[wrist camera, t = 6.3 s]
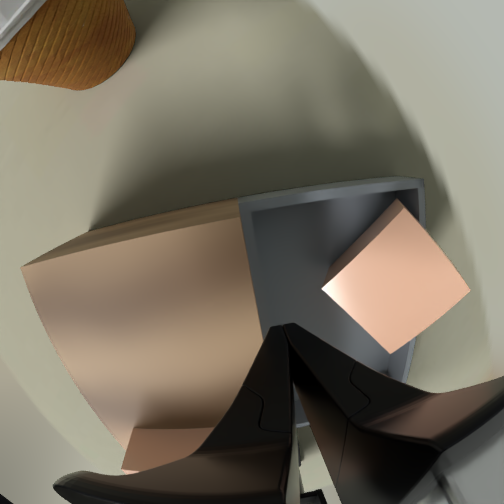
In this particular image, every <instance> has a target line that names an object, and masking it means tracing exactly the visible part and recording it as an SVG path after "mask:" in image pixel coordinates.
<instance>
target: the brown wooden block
mask: <svg viewBox="0 0 504 504" xmlns="http://www.w3.org/2000/svg"><path fill="white" fill-rule="evenodd" d="M21 271H22V274H23V276H24V279H25V282H26V285H27V288H28V290H29V293H30V296H31V298H32V301H33V303H34V305H35V308H36V310H37V313H38V315H39V317H40V319H41V322H42V324H43V326H44V328H45V330H46V332H47V334H48V336H49V338H50V340H51V342H52V344H53V346H54V348H55V350H56V352H57V354H58V355H59V357H60V359H61V361H62V363H63V364H64V366H65V368H66V370H67V371H68V373H69V375H70V376H71V378H72V379H73V381H74V383H75V384H76V386H77V387H78V389H79V390H80V392H81V393H82V395H83V396H84V398H85V399H86V401H87V402H88V404H89V405H90V406H91V408H92V409H93V411H94V412H95V413H96V415H97V416H98V417H99V419H100V420H101V421H102V423H103V424H104V425H105V426H106V428H107V429H108V430H109V431H110V433H111V434H112V435H113V436H114V437H115V439H116V440H117V441H118V442H119V443H120V444H121V446H122V447H123V448H124V449H125V450H127V447H128V443H129V440H130V437H131V433H132V430H133V428H140V429H195V428H212V427H215V426H216V425H217V424H218V422H219V421H220V420H221V418H222V417H223V416H224V414H225V413H226V411H227V410H228V409H229V407H230V406H231V404H232V402H233V401H234V399H235V397H236V395H237V393H238V391H239V389H240V387H241V386H242V384H243V382H244V380H245V378H246V376H247V374H248V372H249V370H250V368H251V366H252V363H253V361H254V359H255V357H256V355H257V353H258V351H259V349H260V347H261V345H262V343H263V335H262V330H261V324H260V319H259V314H258V308H257V303H256V298H255V292H254V287H253V281H252V276H251V271H250V265H249V260H248V254H247V249H246V243H245V238H244V233H243V227H242V222H241V216H240V211H239V205H238V198H233V199H227V200H222V201H217V202H212V203H207V204H202V205H197V206H192V207H187V208H183V209H178V210H173V211H169V212H164V213H160V214H156V215H151V216H147V217H143V218H139V219H135V220H131V221H127V222H123V223H119V224H115V225H111V226H107V227H103V228H100V229H96V230H92V231H89V232H86V233H84V234H82V235H80V236H78V237H76V238H74V239H72V240H70V241H68V242H66V243H64V244H62V245H60V246H58V247H56V248H55V249H53V250H51V251H49V252H47V253H45V254H43V255H41V256H40V257H38V258H36V259H34V260H32V261H31V262H29V263H27V264H25V265H24V266H22V267H21Z"/></svg>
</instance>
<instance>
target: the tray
mask: <svg viewBox="0 0 504 504" xmlns="http://www.w3.org/2000/svg"><path fill="white" fill-rule="evenodd" d="M396 198H397V199H398V200H399V201H400V202H401V203H402V204H403V205H404V206H405V207H406V208H407V209H408V210H409V211H410V212H411V214H412V215H413V216H414V217H415V218H416V219H417V220H418V221H419V222H420V224H421V225H422V226H423V227H424V228H425V229H426V214H425V191H424V179H421V178H412V177H402V176H392V177H381V178H371V179H361V180H352V181H344V182H336V183H328V184H320V185H313V186H306V187H299V188H292V189H286V190H279V191H273V192H267V193H261V194H255V195H249V196H244V197H238V205H239V211H240V216H241V222H242V227H243V233H244V238H245V243H246V249H247V254H248V260H249V265H250V271H251V276H252V281H253V287H254V292H255V298H256V303H257V308H258V314H259V319H260V324H261V330H262V335H263V340H264V338H265V336H266V334H267V332H268V330H269V328H270V327H271V326H277V325H282V326H283V324H287V323H292V322H294V323H296V324H298V325H299V326H301V327H303V328H304V329H306V330H307V331H309V332H311V333H312V334H314V335H316V336H317V337H319V338H320V339H322V340H324V341H325V342H327V343H329V344H330V345H332V346H334V347H335V348H337V349H339V350H340V351H342V352H344V353H345V354H347V355H349V356H350V357H352V358H354V359H355V360H356V361H359V362H361V363H362V364H364V365H366V366H368V367H370V368H371V369H373V370H375V371H377V372H379V373H381V374H384V375H386V376H388V377H390V378H393V379H395V380H398V381H400V382H403V383H405V384H406V381H407V377H408V373H409V369H410V365H411V360H412V356H413V351H414V346H415V340H416V336H415V337H414V338H413V339H411V340H410V341H408V342H407V343H406V344H404V345H403V346H401V347H400V348H399V349H397V350H396V351H394V352H393V353H391V354H390V353H389V352H388V351H387V350H386V349H385V348H383V347H382V346H381V345H380V344H379V343H378V342H377V341H376V340H375V339H374V338H373V337H372V336H371V335H370V334H369V333H368V332H367V331H366V330H365V329H364V328H363V327H362V326H361V325H360V324H359V323H357V322H356V321H355V320H354V319H353V318H352V317H351V316H350V315H349V314H348V313H347V312H346V311H345V310H344V309H343V308H342V307H341V306H340V305H338V304H337V303H336V302H335V301H334V300H333V299H332V298H331V297H330V296H329V295H328V294H327V293H326V292H325V291H324V290H322V286H323V283H324V280H325V278H326V275H327V272H328V269H329V267H330V266H331V265H332V264H333V263H334V262H335V261H336V260H337V259H338V258H339V257H340V256H341V255H342V254H343V253H344V252H345V251H346V250H347V249H348V248H349V247H350V246H351V245H352V244H353V243H354V242H355V241H356V240H357V239H358V238H359V237H360V236H361V235H362V234H363V233H364V232H365V231H366V230H367V229H368V228H369V227H370V226H371V225H372V224H373V223H374V222H375V221H376V220H377V219H378V218H379V217H380V216H381V214H382V213H383V212H384V211H385V210H386V209H387V208H388V207H389V206H390V205H391V204H392V203H393V202H394V201H395V199H396ZM293 386H294V383H293ZM294 398H295V412H296V427H297V428H298V427H303V426H307V425H310V424H309V422H308V419H307V417H306V414H305V412H304V409H303V407H302V404H301V402H300V399H299V397H298V394H297V392H296V389H295V386H294Z"/></svg>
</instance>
